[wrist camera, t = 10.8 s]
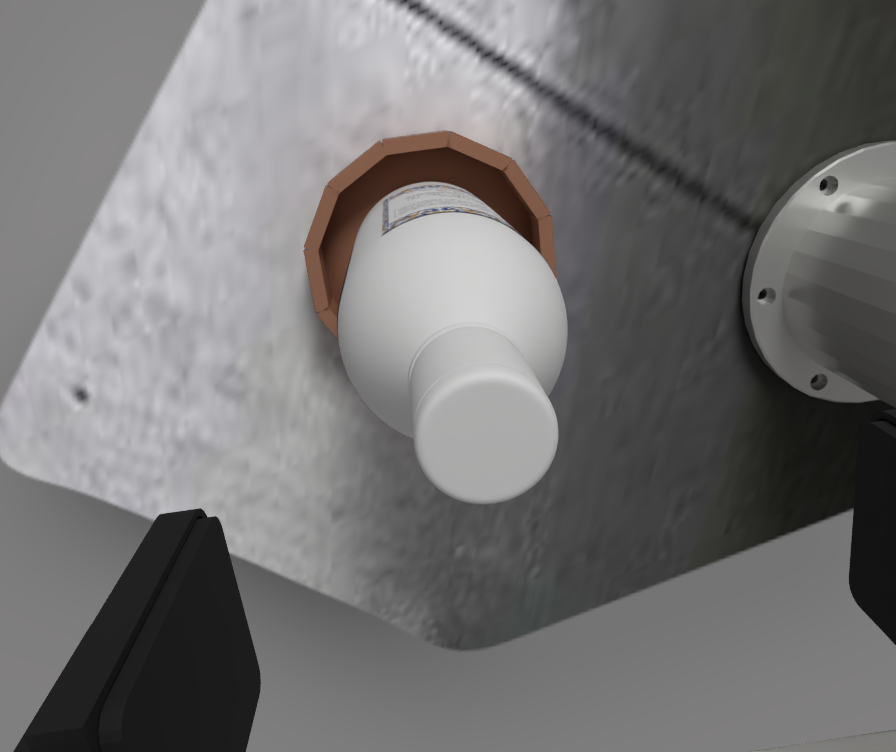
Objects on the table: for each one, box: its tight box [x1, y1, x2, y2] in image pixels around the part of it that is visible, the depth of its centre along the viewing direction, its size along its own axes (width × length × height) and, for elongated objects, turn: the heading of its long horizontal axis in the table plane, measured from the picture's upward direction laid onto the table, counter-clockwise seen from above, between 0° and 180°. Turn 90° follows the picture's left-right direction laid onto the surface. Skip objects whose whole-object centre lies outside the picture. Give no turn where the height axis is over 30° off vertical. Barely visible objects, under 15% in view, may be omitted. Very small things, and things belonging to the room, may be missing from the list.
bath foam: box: [337, 182, 567, 504], centre depth 24 cm, size 7×7×20 cm
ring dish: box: [304, 130, 557, 339], centre depth 32 cm, size 11×11×3 cm
